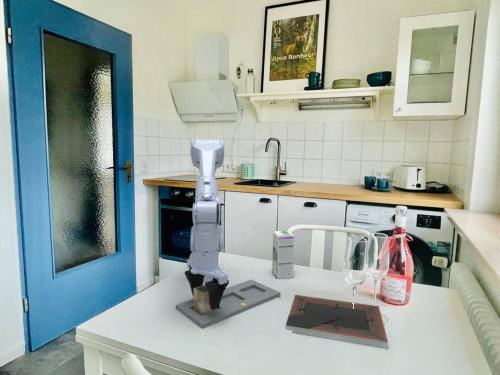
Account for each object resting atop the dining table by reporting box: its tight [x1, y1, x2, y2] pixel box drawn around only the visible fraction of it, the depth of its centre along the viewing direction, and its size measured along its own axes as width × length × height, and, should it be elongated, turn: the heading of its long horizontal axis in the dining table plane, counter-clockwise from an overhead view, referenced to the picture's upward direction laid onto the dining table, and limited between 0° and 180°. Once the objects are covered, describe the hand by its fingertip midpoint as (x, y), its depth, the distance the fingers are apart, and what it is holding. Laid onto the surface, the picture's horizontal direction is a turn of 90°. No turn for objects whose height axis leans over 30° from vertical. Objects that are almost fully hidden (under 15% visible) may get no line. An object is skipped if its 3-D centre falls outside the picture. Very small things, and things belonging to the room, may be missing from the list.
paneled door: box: [175, 279, 282, 330], centre depth 86 cm, size 12×26×2 cm, turn 132°
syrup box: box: [271, 230, 295, 280], centre depth 106 cm, size 6×6×14 cm
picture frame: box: [285, 294, 389, 350], centre depth 79 cm, size 16×2×22 cm
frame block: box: [193, 285, 218, 316], centre depth 80 cm, size 4×4×6 cm
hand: (205, 302), depth 80 cm, fingers open, 7 cm apart
